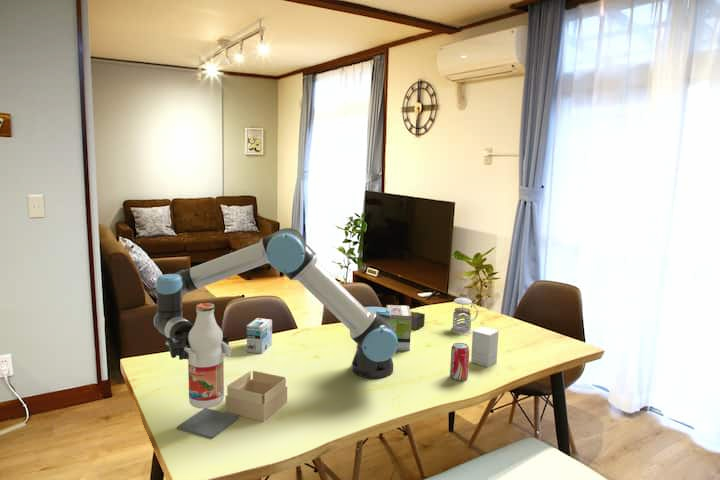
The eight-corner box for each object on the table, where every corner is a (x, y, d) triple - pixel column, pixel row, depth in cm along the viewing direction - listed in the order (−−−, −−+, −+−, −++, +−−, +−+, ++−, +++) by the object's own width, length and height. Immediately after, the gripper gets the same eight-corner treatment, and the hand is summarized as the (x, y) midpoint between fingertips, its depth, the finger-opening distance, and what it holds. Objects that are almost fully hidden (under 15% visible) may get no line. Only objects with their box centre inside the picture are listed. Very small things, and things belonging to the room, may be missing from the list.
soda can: (466, 382, 174) (468, 349, 172) (448, 379, 176) (450, 346, 174) (469, 375, 180) (471, 343, 178) (451, 372, 182) (453, 340, 180)
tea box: (410, 351, 201) (412, 315, 199) (385, 350, 202) (386, 314, 199) (407, 338, 216) (409, 304, 214) (384, 337, 217) (385, 303, 214)
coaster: (238, 418, 146) (238, 416, 146) (212, 438, 135) (212, 436, 135) (205, 409, 150) (205, 407, 150) (176, 428, 139) (176, 426, 139)
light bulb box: (262, 354, 194) (262, 327, 193) (246, 352, 196) (245, 325, 194) (272, 344, 205) (272, 318, 203) (257, 342, 206) (256, 317, 204)
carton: (287, 401, 157) (287, 377, 155) (263, 421, 144) (263, 395, 143) (251, 393, 161) (251, 369, 160) (225, 411, 149) (225, 386, 148)
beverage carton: (388, 318, 242) (388, 305, 241) (425, 326, 233) (425, 312, 232) (380, 323, 236) (381, 309, 235) (418, 331, 226) (418, 317, 225)
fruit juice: (230, 400, 142) (230, 305, 138) (201, 412, 135) (200, 312, 131) (210, 390, 148) (209, 298, 144) (182, 401, 141) (180, 305, 136)
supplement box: (497, 362, 192) (499, 330, 190) (487, 367, 187) (489, 335, 185) (480, 356, 197) (482, 325, 195) (470, 362, 192) (472, 330, 190)
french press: (449, 326, 233) (452, 273, 229) (475, 328, 232) (478, 275, 228) (450, 333, 223) (453, 278, 220) (477, 335, 222) (480, 280, 218)
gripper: (215, 337, 160) (249, 359, 143) (144, 352, 146) (172, 378, 129) (215, 314, 159) (249, 334, 142) (143, 327, 145) (171, 351, 128)
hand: (212, 355), depth 136 cm, fingers closed on fruit juice, 9 cm apart
